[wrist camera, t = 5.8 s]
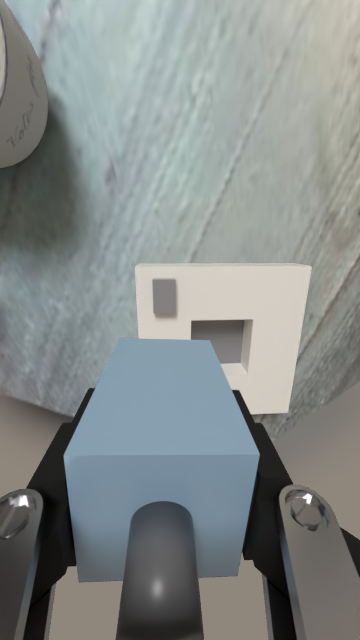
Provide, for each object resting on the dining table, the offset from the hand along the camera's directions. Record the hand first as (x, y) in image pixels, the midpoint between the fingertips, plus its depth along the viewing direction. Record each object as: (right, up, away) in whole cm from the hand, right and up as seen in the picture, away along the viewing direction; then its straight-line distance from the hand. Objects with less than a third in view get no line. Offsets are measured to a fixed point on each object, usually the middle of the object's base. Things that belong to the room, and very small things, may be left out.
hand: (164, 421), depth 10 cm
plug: (0, +1, +3) cm, 3 cm away
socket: (+4, +2, +17) cm, 18 cm away
